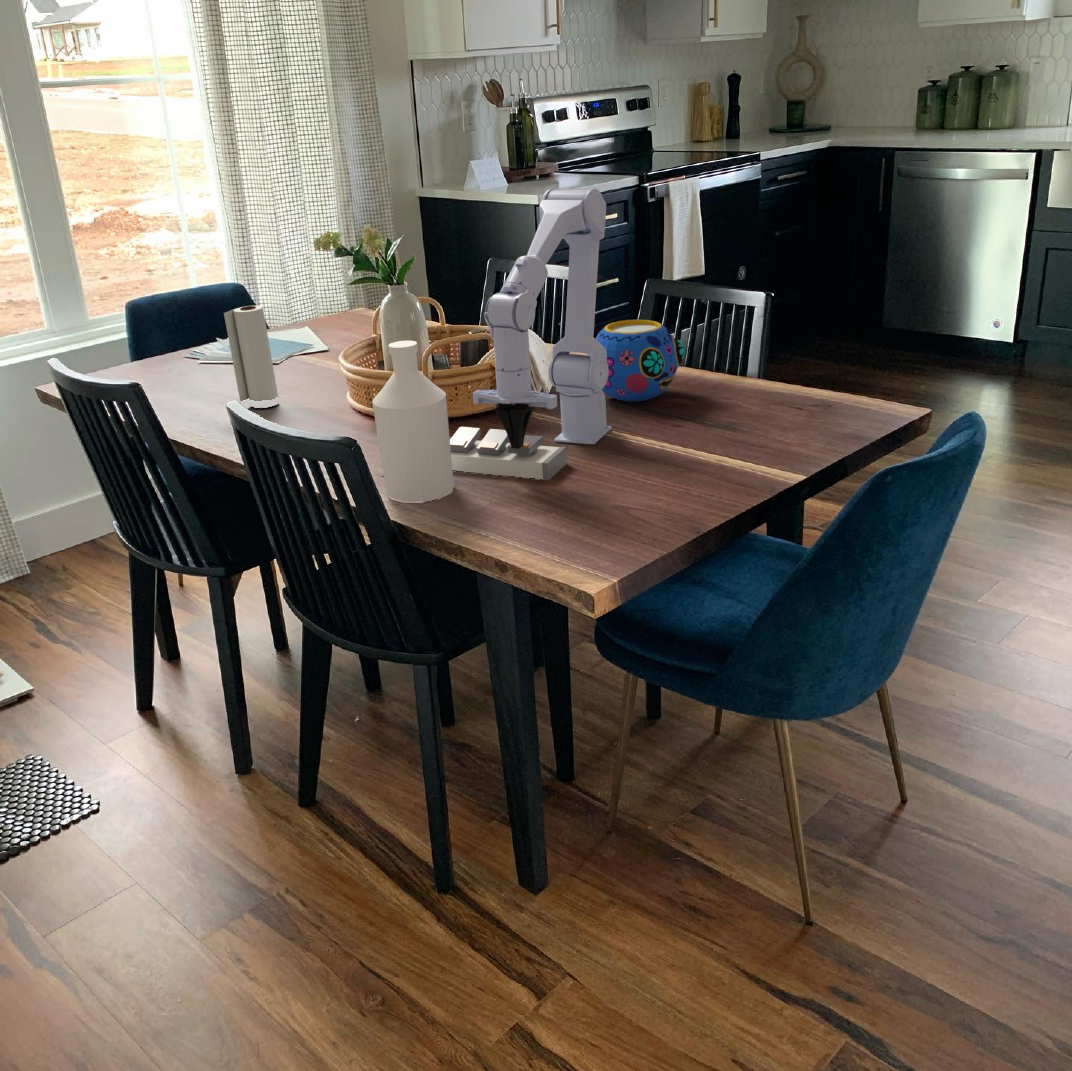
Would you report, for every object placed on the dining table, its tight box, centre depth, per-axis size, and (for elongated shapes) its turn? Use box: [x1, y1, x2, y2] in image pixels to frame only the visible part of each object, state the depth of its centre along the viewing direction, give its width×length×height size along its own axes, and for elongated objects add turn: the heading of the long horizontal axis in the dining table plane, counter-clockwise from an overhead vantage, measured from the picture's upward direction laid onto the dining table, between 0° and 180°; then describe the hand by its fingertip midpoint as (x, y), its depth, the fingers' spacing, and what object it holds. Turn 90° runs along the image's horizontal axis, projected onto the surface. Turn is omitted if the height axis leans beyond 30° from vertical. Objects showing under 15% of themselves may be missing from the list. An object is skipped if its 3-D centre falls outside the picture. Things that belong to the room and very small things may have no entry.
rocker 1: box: [450, 426, 482, 453], centre depth 188 cm, size 6×4×1 cm, turn 156°
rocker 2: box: [476, 428, 510, 456], centre depth 185 cm, size 6×4×1 cm, turn 156°
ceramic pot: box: [595, 319, 686, 403], centre depth 215 cm, size 18×18×15 cm
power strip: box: [449, 437, 568, 481], centre depth 188 cm, size 8×29×4 cm, turn 66°
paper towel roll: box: [223, 305, 279, 402], centre depth 227 cm, size 7×6×21 cm
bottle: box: [371, 340, 455, 502], centre depth 174 cm, size 12×12×25 cm
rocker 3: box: [508, 434, 544, 455], centre depth 183 cm, size 6×4×1 cm, turn 156°
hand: (517, 446), depth 180 cm, fingers closed, pressing on rocker 3
